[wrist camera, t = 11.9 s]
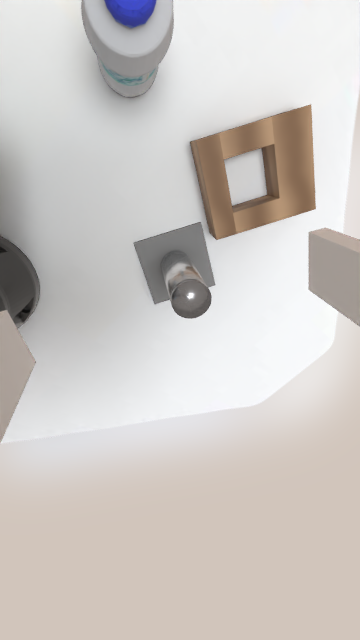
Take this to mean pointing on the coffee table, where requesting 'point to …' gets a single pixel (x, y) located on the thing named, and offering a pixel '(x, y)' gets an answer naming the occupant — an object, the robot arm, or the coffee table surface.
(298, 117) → the housing
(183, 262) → the shiny metal cylinder
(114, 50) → the bottle
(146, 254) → the mat
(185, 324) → the coffee table surface
